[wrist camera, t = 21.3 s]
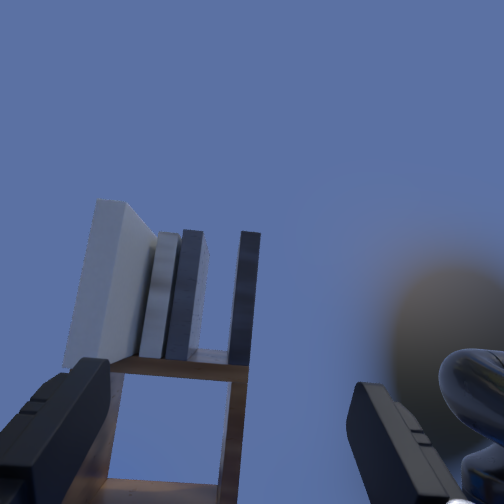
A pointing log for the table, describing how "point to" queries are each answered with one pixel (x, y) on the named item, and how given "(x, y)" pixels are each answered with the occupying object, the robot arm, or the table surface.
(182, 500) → the book stand
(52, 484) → the robot arm
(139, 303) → the white book
